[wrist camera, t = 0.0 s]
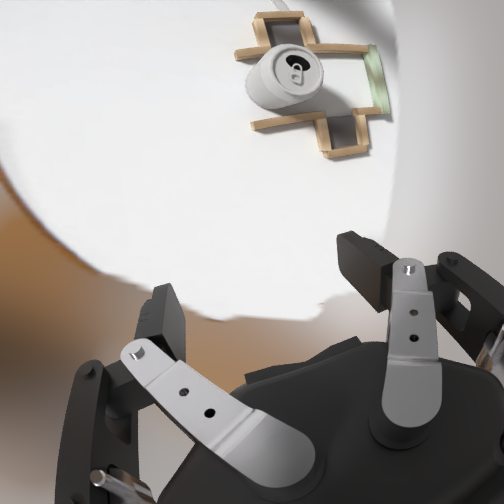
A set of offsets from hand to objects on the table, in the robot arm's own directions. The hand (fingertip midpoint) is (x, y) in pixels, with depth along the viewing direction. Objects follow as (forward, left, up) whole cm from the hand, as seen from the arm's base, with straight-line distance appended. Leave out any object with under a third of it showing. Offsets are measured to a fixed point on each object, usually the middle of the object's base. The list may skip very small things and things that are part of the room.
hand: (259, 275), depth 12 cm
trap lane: (-12, +18, -29) cm, 37 cm away
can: (-12, +11, -30) cm, 34 cm away
